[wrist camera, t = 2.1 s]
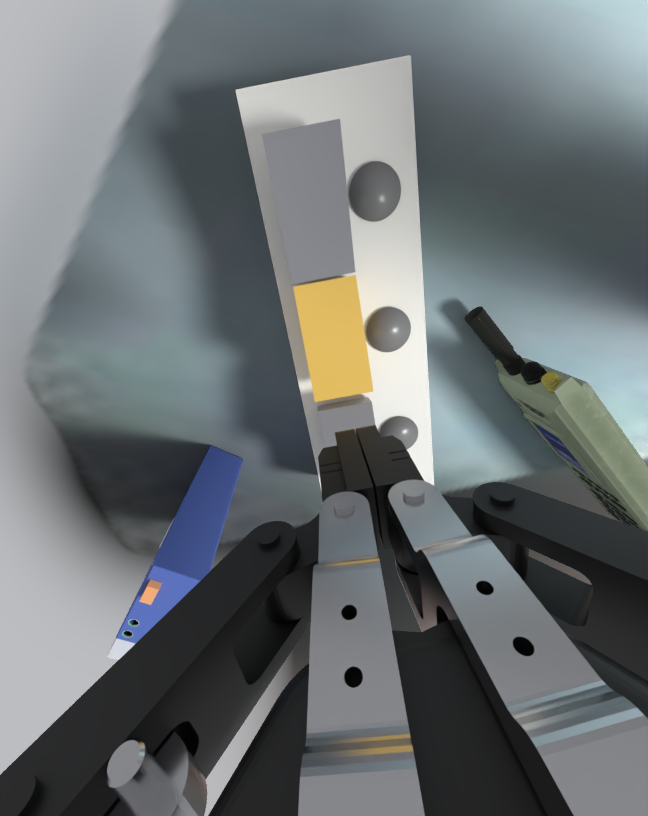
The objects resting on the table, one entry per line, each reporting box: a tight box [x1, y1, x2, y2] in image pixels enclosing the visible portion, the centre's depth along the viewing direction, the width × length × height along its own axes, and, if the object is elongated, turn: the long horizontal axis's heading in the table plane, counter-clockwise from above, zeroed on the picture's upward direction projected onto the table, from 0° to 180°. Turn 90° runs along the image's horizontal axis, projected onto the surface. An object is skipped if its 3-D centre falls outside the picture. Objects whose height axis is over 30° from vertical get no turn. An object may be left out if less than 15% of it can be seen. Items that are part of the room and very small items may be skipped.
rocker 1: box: [293, 275, 373, 402], centre depth 19 cm, size 3×6×2 cm, turn 10°
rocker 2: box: [318, 397, 375, 448], centre depth 22 cm, size 3×6×2 cm, turn 10°
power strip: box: [235, 55, 434, 491], centre depth 22 cm, size 8×24×4 cm, turn 10°
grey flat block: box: [262, 119, 355, 284], centre depth 16 cm, size 3×6×2 cm, turn 10°
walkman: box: [107, 446, 243, 660], centre depth 23 cm, size 8×3×12 cm, turn 150°
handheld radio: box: [465, 307, 648, 531], centre depth 25 cm, size 7×3×25 cm
